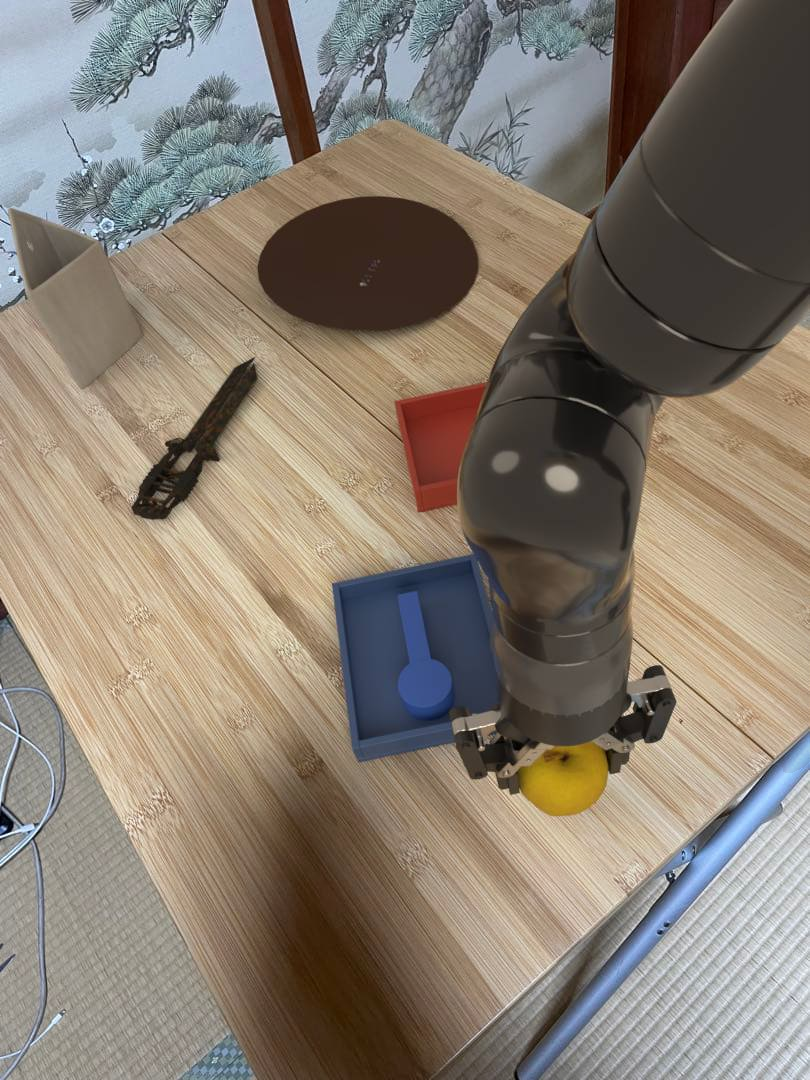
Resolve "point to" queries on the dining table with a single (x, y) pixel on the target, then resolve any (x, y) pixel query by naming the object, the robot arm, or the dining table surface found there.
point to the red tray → (437, 441)
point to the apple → (565, 779)
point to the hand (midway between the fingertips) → (561, 770)
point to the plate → (368, 264)
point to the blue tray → (381, 651)
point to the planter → (74, 295)
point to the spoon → (422, 667)
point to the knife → (187, 445)
